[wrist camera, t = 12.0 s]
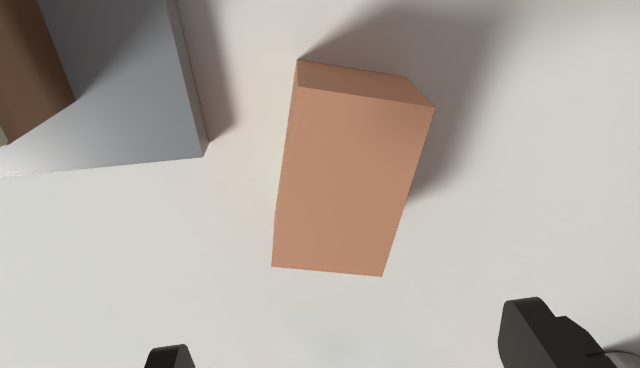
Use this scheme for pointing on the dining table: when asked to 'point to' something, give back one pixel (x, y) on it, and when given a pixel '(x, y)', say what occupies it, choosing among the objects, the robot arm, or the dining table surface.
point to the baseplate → (115, 90)
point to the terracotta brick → (346, 168)
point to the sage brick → (2, 138)
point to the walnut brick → (28, 70)
